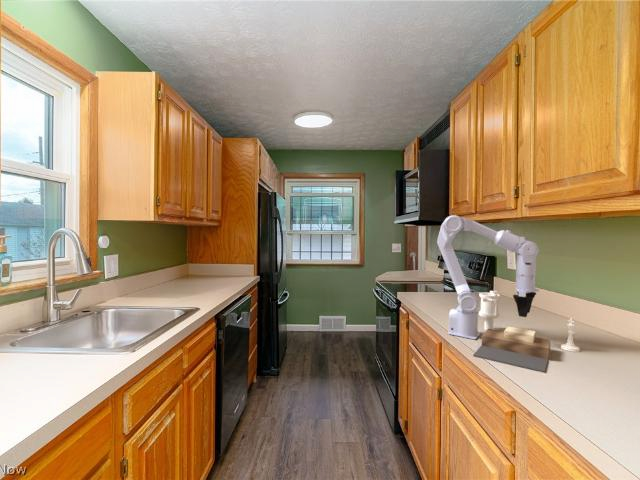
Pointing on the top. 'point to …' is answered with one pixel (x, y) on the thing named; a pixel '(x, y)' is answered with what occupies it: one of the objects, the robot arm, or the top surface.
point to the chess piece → (570, 339)
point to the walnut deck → (516, 344)
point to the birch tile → (519, 334)
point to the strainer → (489, 308)
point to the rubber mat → (512, 358)
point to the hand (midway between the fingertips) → (524, 314)
